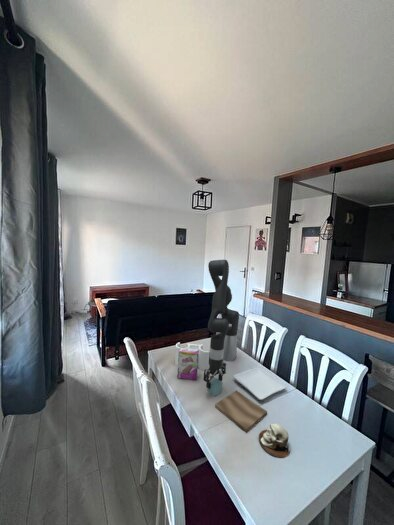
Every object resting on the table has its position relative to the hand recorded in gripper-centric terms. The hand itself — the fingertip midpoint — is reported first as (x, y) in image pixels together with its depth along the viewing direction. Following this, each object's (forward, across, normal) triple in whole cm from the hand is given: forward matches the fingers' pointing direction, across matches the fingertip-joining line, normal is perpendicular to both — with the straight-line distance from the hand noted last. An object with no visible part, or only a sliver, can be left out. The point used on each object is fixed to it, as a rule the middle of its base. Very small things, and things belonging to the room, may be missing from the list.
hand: (214, 385), depth 116 cm
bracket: (+4, -8, -25) cm, 26 cm away
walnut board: (+4, -1, +17) cm, 17 cm away
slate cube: (+4, 0, 0) cm, 4 cm away
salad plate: (+4, -24, +12) cm, 27 cm away
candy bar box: (+4, +4, -18) cm, 19 cm away
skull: (+4, +2, +36) cm, 36 cm away
